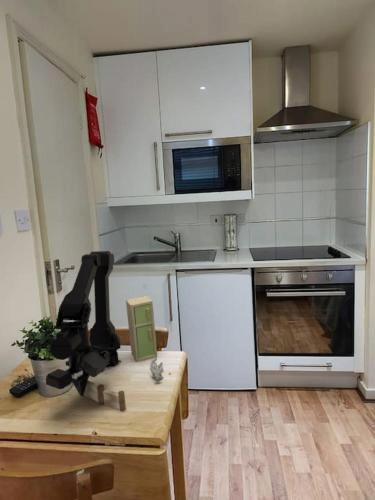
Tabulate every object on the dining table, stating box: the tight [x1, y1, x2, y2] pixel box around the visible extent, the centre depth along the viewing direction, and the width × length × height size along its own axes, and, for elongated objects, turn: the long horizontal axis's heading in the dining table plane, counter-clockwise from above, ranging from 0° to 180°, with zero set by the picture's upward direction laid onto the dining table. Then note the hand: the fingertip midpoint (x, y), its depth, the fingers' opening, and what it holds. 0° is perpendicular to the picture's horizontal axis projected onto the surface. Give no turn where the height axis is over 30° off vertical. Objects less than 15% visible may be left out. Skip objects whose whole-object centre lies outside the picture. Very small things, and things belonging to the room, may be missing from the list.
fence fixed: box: [98, 384, 127, 412], centre depth 96 cm, size 9×2×6 cm, turn 61°
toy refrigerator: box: [125, 295, 158, 363], centre depth 123 cm, size 8×7×21 cm
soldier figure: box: [149, 357, 172, 383], centre depth 111 cm, size 8×5×12 cm
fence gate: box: [83, 379, 100, 403], centre depth 101 cm, size 9×2×5 cm, turn 53°
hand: (81, 395), depth 100 cm, fingers closed
